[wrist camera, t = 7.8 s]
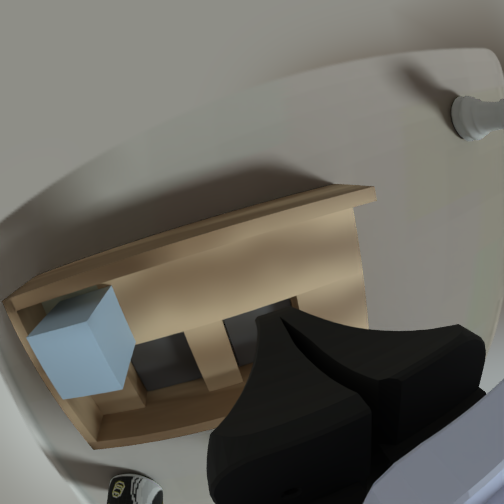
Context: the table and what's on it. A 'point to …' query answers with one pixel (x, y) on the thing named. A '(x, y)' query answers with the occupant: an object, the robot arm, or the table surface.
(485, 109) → the rook chess piece
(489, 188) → the table surface
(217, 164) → the table surface
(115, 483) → the beverage can
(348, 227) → the board
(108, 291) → the blue block
